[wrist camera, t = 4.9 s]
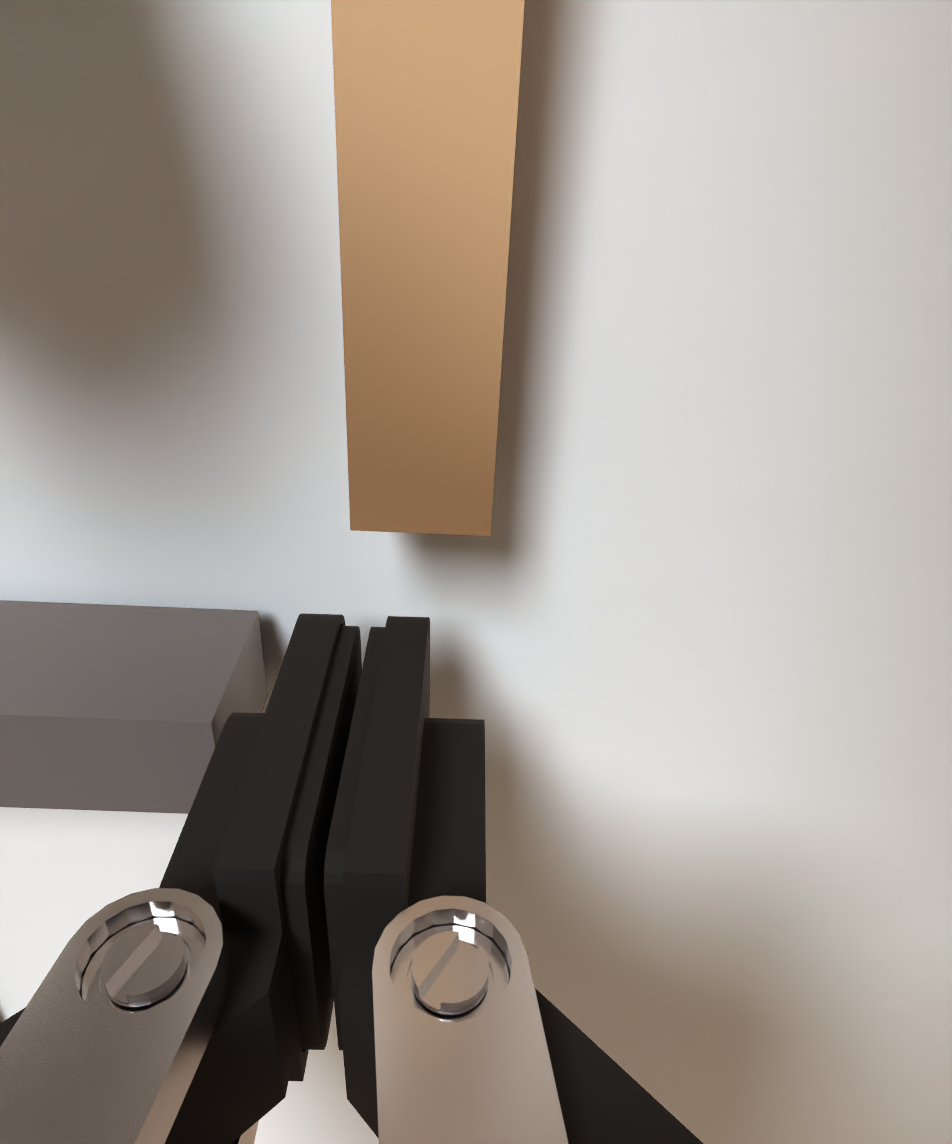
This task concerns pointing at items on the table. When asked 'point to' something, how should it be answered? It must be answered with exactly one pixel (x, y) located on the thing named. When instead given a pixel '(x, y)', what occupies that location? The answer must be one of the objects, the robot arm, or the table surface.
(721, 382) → the table surface
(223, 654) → the bar
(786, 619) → the table surface
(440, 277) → the wooden u-shaped frame
